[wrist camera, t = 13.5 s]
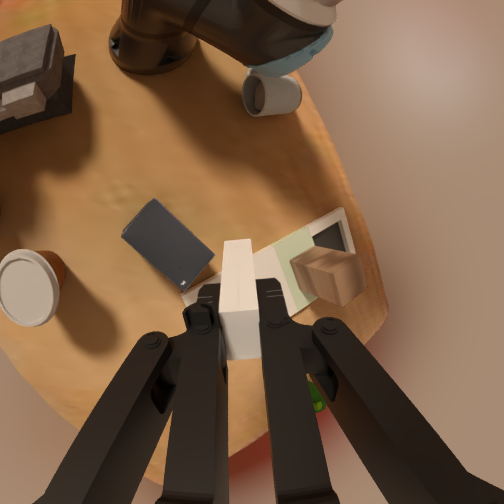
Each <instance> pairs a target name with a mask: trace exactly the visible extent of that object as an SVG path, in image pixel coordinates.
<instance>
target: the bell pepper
mask: <svg viewBox="0 0 504 504" xmlns="http://www.w3.org/2000/svg"><path fill="white" fill-rule="evenodd" d="M308 384H309V388H310V393H311V397H312V401H313V405H314V410H315V413H318V412H320V411H322V410H324V409H325V407H326V402H325V401H324V399H323V397H322V396H321V394H320V392H319V391H318V389H317V388H316V386H315V384H314V383H312V382H309V381H308Z"/></svg>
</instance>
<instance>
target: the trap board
mask: <svg viewBox="0 0 504 504" xmlns="http://www.w3.org/2000/svg"><path fill="white" fill-rule="evenodd" d="M313 246H319V247H324V248H328V249H333V250H338V251H343V252H348V253H353V254H356V252H355V248H354V244H353V240H352V236H351V233H350V229H349V225H348V222H347V218H346V215H345V211H344V208H343V207H338V208H336V209H334V210H333V211H331V212H329V213H327V214H325V215H323V216H322V217H320V218H318V219H316V220H314V221H312V222H311V223H309V224H307V225H305V226H303V227H301V228H300V229H298V230H296V231H294V232H292V233H290V234H289V235H287V236H285V237H283V238H281V239H280V240H278V241H276V242H274V243H272V244H270V245H269V246H267V247H265V248H263V249H261V250H259V251H258V252H256V253H254V254H252V256H253V265H254V273H255V279H265V278H276V279H277V280H278V281H279V282H280V283H281V287H282V291H283V295H284V298H285V302H286V306H287V310H288V314H289V316H290V317H291V316H292V315H294V314H295V313H297V312H298V311H300V310H301V309H303V308H304V307H306V306H307V305H308V304H310V303H311V302H313V301H314V300H316V299H317V298H319V297H317V296H315V295H312V294H310V293H308V292H305V291H303V290H301V289H299V287H298V284H297V281H296V279H295V276H294V273H293V270H292V267H291V265H290V262H289V260H291V259H293V258H294V257H296V256H298V255H299V254H301V253H303V252H304V251H306V250H308V249H309V248H311V247H313ZM221 276H222V271H221V272H219V273H217V274H215V275H214V276H212V277H210V278H208V279H206V280H204V281H202V282H201V283H199V284H197V285H195V286H193V287H191V288H190V289H188V290H186V291H184V292H182V293H180V295H181V297H182V299H183V301H184V303H185V305H186V307H188V306H189V305H191V304H193V303H196V302H197V298H198V291H199V289H200V288H201V287H202V286H203V285H204V284H214V283H221Z"/></svg>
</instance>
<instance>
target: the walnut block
mask: <svg viewBox="0 0 504 504" xmlns="http://www.w3.org/2000/svg"><path fill="white" fill-rule="evenodd" d="M289 262H290V265H291V267H292V270H293V273H294V276H295V279H296V281H297V284H298V287H299V289H301V290H303V291H305V292H308V293H310V294H312V295H315V296H317V297H319V298H321V299H324V300H326V301H328V302H331V303H333V304H335V305H338V306H340V307H344V306H345V305H346V304H347V303H349V302H350V301H351V300H353V299H354V298H355V297H356V296H358V295H359V294H360V293H361V292H363V291H364V290H365V289H366V288H367V282H366V278H365V273H364V269H363V264H362V260H361V256H360V255H358V254H353V253H348V252H343V251H338V250H333V249H328V248H324V247H319V246H313V247H311V248H309V249H308V250H306V251H304V252H303V253H301V254H299V255H298V256H296V257H294V258H293V259H291V260H289Z"/></svg>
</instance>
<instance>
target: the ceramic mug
mask: <svg viewBox="0 0 504 504" xmlns="http://www.w3.org/2000/svg"><path fill="white" fill-rule="evenodd" d="M250 73H254V74H250ZM242 99H243V104H244V107H245V109H246V111H247V112H248V113H249V114H250V115H251V116H254V117H258V116H267V115H276V114H287V113H291V112H293V111H295V110H296V109H297V108H298V107H299V106H300V103H301V100H302V91H301V87H300V85H299V83H298V82H297V80H295V79H294V78H292V77H290V76H286V75H285V76H281V77H275V78H271V77H267V76H264V75H262V74H259V72H257V71H255V70H254V69H252V68H249V69H248V71H247V73H246V79H245V80H244V83H243V87H242Z"/></svg>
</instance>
